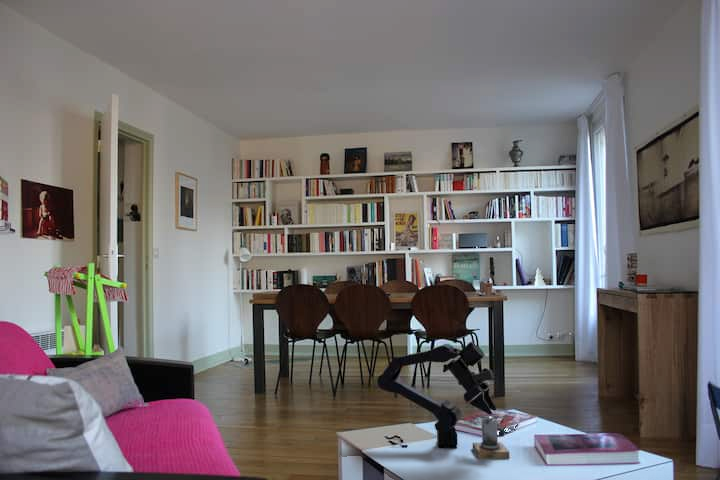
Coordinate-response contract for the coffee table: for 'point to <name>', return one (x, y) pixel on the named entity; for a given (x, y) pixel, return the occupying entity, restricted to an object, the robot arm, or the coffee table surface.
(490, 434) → the cylinder
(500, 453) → the stand
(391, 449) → the coffee table surface
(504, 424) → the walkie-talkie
